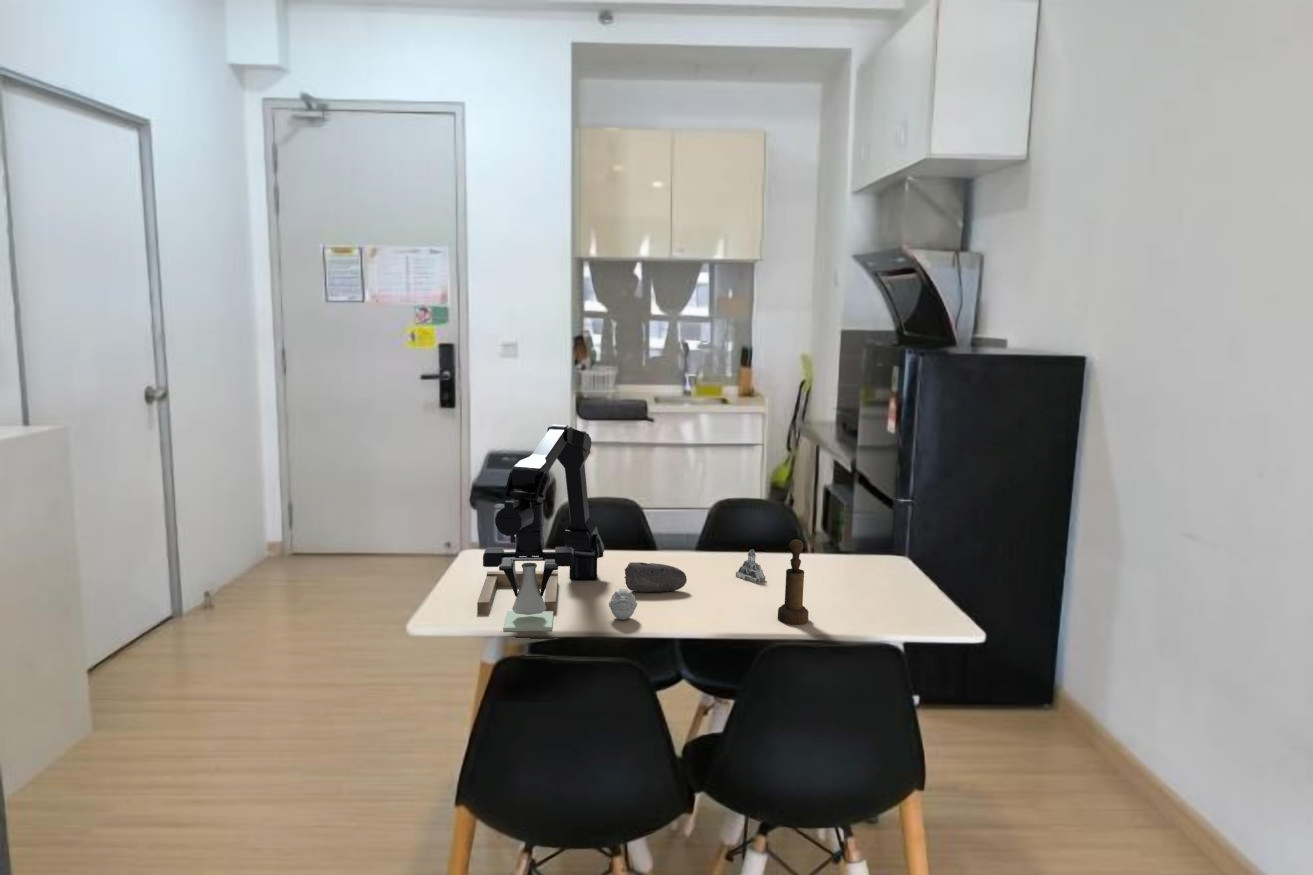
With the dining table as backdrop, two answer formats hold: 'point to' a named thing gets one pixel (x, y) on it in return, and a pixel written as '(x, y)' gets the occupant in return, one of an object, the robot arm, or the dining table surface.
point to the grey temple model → (751, 569)
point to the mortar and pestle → (794, 590)
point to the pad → (528, 621)
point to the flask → (529, 593)
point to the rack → (501, 579)
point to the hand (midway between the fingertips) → (529, 595)
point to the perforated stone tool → (653, 577)
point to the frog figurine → (622, 604)
